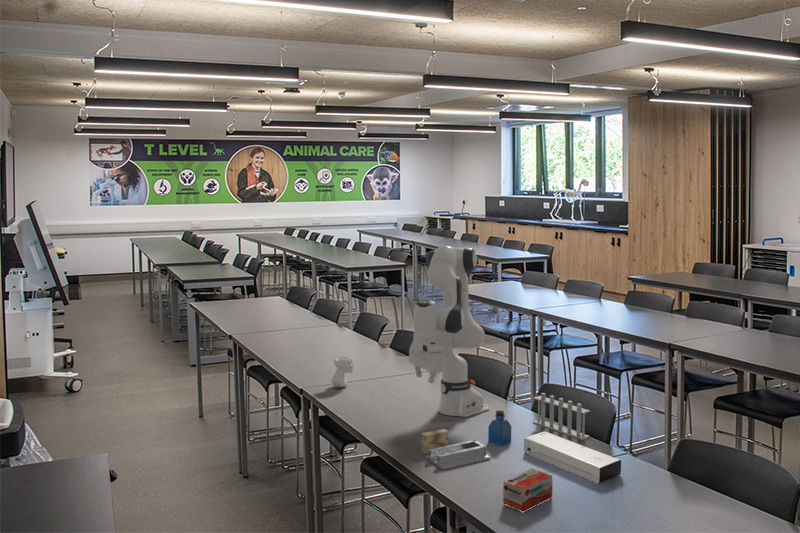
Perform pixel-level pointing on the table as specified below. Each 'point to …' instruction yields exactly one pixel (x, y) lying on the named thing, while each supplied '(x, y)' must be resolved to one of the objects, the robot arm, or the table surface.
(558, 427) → the test tube rack
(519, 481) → the medicine box
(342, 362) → the white lumpy upright piece
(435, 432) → the tan wooden block
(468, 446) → the floor track
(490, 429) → the perfume bottle
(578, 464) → the laminator
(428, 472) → the table surface
